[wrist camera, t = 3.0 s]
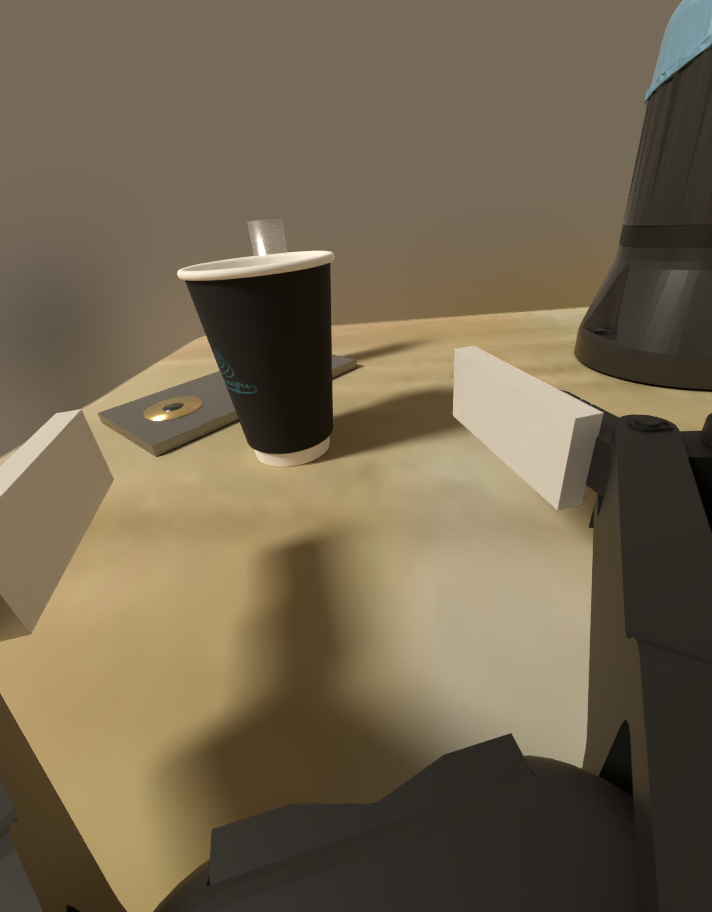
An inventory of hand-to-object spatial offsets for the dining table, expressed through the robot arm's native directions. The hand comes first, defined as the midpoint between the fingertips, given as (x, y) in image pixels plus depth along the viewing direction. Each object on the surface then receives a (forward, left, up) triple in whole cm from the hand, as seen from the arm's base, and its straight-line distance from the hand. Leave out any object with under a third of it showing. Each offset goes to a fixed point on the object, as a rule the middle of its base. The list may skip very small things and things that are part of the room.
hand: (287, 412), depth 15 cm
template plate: (-10, -20, -6) cm, 23 cm away
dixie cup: (-6, -8, -7) cm, 12 cm away
